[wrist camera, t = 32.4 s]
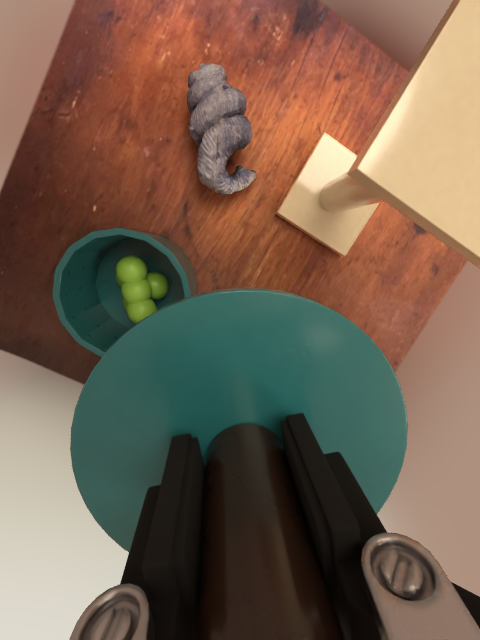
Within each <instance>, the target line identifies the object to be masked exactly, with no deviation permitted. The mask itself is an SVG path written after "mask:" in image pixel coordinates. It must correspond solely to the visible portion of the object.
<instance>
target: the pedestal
mask: <svg viewBox="0 0 480 640" xmlns="http://www.w3.org/2000/svg"><path fill="white" fill-rule="evenodd" d="M383 201H385V202H387V203H388V204H389V205H391V206H392V207H394V208H395V209H396V210H398V211H399V212H401V213H402V214H403V215H405V216H406V217H408V218H409V219H410V220H412V221H413V222H415V223H416V224H417V225H419V226H420V227H422V228H423V229H425V230H426V231H427V232H429V233H430V234H432V235H433V236H434V237H436V238H437V239H439V240H440V241H441V242H443V243H444V244H446V245H447V246H448V247H450V248H451V249H453V250H454V251H455V252H457V253H458V254H460V255H461V256H462V257H464V258H465V259H467V260H468V261H469V262H471V263H472V264H474V265H475V266H477V267H478V268H480V0H453V2H452V3H451V5H450V6H449V8H448V10H447V11H446V13H445V14H444V16H443V18H442V19H441V21H440V23H439V24H438V26H437V27H436V29H435V31H434V33H433V34H432V36H431V37H430V39H429V41H428V42H427V44H426V46H425V47H424V49H423V50H422V52H421V54H420V56H419V57H418V59H417V60H416V62H415V64H414V65H413V67H412V68H411V70H410V72H409V73H408V75H407V76H406V78H405V80H404V81H403V83H402V85H401V86H400V88H399V89H398V91H397V93H396V94H395V96H394V98H393V99H392V101H391V103H390V104H389V106H388V107H387V109H386V111H385V112H384V114H383V116H382V117H381V119H380V120H379V122H378V124H377V125H376V127H375V129H374V130H373V132H372V134H371V135H370V137H369V138H368V140H367V142H366V143H365V145H364V147H363V148H362V150H361V152H360V153H359V155H358V156H357V155H355V154H354V153H353V152H351V151H350V150H349V149H347V148H346V147H345V146H343V145H342V144H340V143H339V142H338V141H336V140H335V139H334V138H332V137H331V136H329V135H328V134H327V133H325V132H324V133H323V134H322V135H321V136H320V138H319V139H318V141H317V143H316V144H315V146H314V148H313V150H312V151H311V153H310V155H309V156H308V158H307V160H306V162H305V163H304V165H303V167H302V168H301V170H300V172H299V174H298V175H297V177H296V179H295V180H294V182H293V184H292V186H291V187H290V189H289V191H288V193H287V194H286V196H285V198H284V199H283V201H282V203H281V205H280V206H279V208H278V210H277V211H276V215H278V216H279V217H281V218H283V219H284V220H286V221H287V222H289V223H290V224H292V225H293V226H295V227H296V228H298V229H300V230H301V231H303V232H304V233H306V234H307V235H309V236H310V237H312V238H313V239H315V240H317V241H318V242H320V243H321V244H323V245H324V246H326V247H327V248H329V249H330V250H332V251H334V252H335V253H337V254H338V255H340V256H345V255H346V254H347V252H348V251H349V249H350V248H351V246H352V244H353V243H354V241H355V240H356V238H357V237H358V235H359V234H360V232H361V231H362V229H363V227H364V226H365V224H366V223H367V221H368V220H369V218H370V217H371V215H372V213H373V212H374V210H375V209H376V207H377V206H378V204H379V203H380V202H383Z"/></svg>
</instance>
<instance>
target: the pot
mask: <svg viewBox="0 0 480 640" xmlns="http://www.w3.org/2000/svg"><path fill="white" fill-rule="evenodd" d="M126 256H136V257H139V258H140V259H142V260H143V261H144V263H145V264H146V266H147V274H148V273H151V272H158V273H161V274H163V275H164V276H165V277H166V278H167V280H168V283H169V290H168V292H167V294H166V295H165V296H164V297H163V298H161V299H157V300H154V299H151V300H153V301H154V303H155V304H156V307H157V310H159V309H161V308H163V307H165V306H167V305H168V304H171V303H174V302H176V301H179V300H181V299H184V298H187V297H189V296H192V295H196V294H197V290H198V287H197V280H196V275H195V271H194V267H193V266H192V264H191V262H190V260H189V258H188V257H187V256H186V254H185V253H184V252H183V250H182V249H181V248H179V247H178V246H177V245H176V244H174V243H173V242H171V241H170V240H168V239H167V238H165V237H163V236H159V235H155V234H151V233H147V232H143V231H137V230H132V229H126V228H113V229H106V230H100V231H93V232H91V233H89V234H88V235H86V236H85V237H83V238H81V239H80V240H78V241H77V242H75V243H74V244H72V245H71V246H70V247H69V248H68V249H67V251H66V252H65V254H64V256H63V257H62V259H61V261H60V262H59V264H58V266H57V267H56V270H55V276H54V285H53V294H52V296H53V300H54V303H55V306H56V310H57V313H58V316H59V319H60V321H61V323H62V324H63V326H64V327H65V328H66V329H67V331H68V332H69V333H70V334H71V336H72V337H73V338H74V339H75V341H76V342H77V343H78V344H80V345H82V346H83V347H85V348H87V349H88V350H90V351H92V352H93V353H95V354H97V355H98V356H101V357H103V356H104V354H105V353H106V352H107V350H108V349H109V348H110V347H111V346H112V345H113V344H114V343H115V342H116V341H118V340H119V339H120V338H121V337H122V336H123V335H124V334H125V333H126V332H127V331H128V330H129V329H130V328H132V327H133V326H134V325H136V324H135V323H133V322H132V321H131V320H130V319H129V317H128V315H127V311H126V310H125V308H124V306H123V296H122V293H121V287H120V286H119V285H118V283H117V281H116V265H117V263H118V262H119V260H120V259H122V258H123V257H126Z"/></svg>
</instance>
